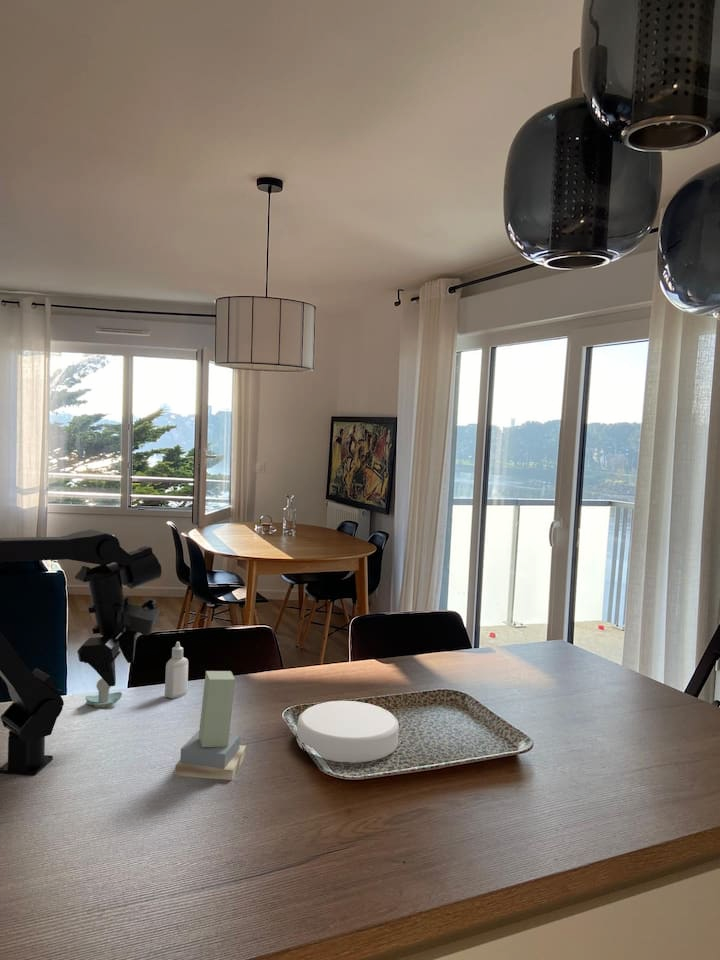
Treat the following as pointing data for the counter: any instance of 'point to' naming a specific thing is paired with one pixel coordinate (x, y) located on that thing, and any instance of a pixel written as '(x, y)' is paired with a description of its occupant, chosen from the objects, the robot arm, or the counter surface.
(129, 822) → the counter surface
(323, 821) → the counter surface
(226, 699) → the pillar block
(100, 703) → the pacifier
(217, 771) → the tower base
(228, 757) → the tower middle
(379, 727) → the container
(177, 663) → the eye dropper bottle
